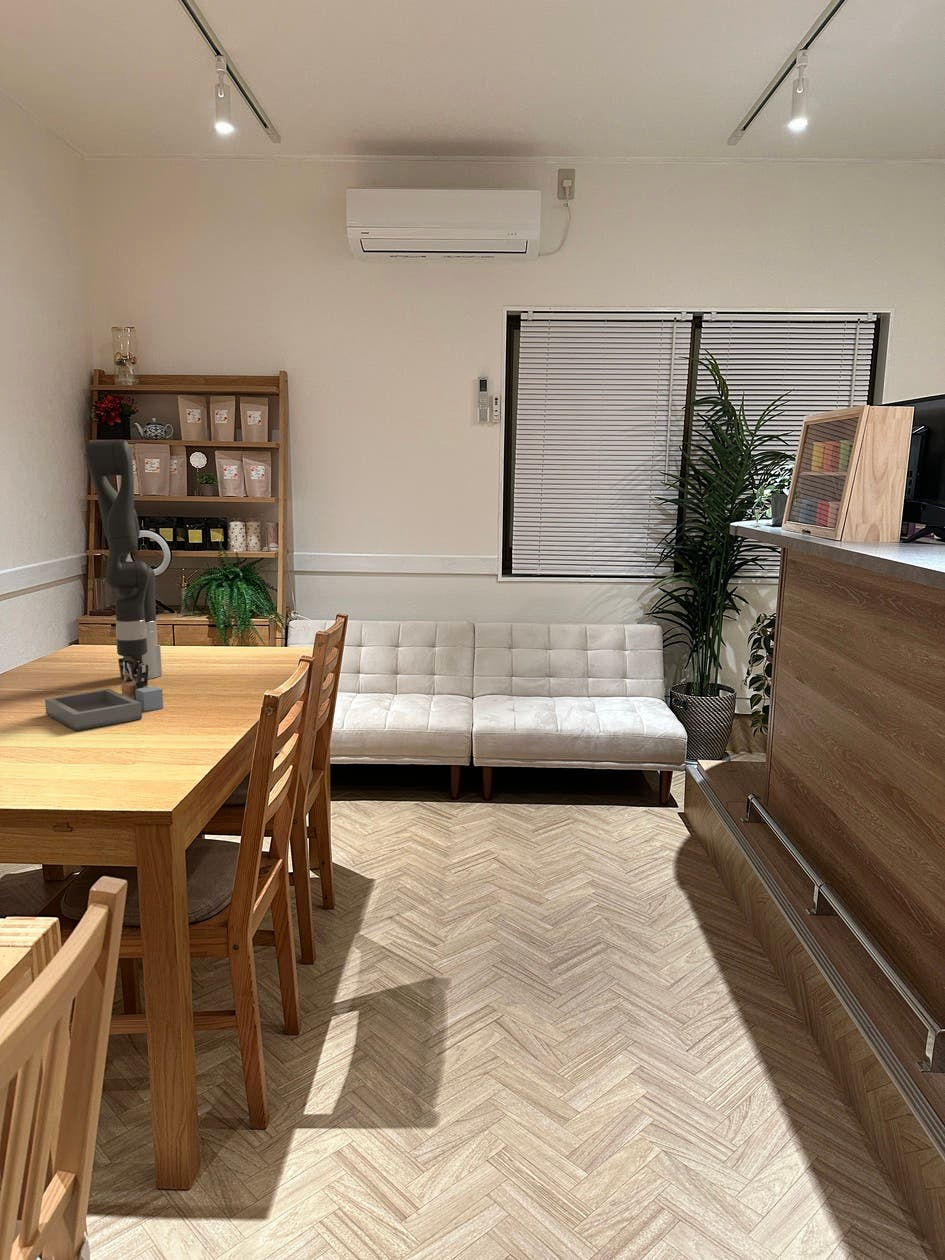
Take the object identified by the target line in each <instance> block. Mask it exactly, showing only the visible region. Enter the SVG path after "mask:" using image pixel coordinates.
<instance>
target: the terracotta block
mask: <svg viewBox="0 0 945 1260" xmlns="http://www.w3.org/2000/svg"><path fill="white" fill-rule="evenodd" d="M148 684H149V683H148ZM148 684H147V685H145V686H144V687H143V688H145V687H149V686H148ZM120 687H121V694H122V695H124V696H127V697H129V698H131V699H133V700H135V691H134V688H135V687H134V683H133V681H129V682H124V681H123V682H121V686H120Z"/></svg>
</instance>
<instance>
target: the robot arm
mask: <svg viewBox="0 0 945 1260" xmlns="http://www.w3.org/2000/svg"><path fill="white" fill-rule="evenodd" d="M84 451H85V452H84V453H85V459H86V464H87V466H88V471H89V473H90V477H91V480H92V483H93V487H94V490H95V493H96V497H97V501H98V502H97V503H98V507H99V511H100V517H101V521H102V522H101V523H102V525H103V526H102V527H103V531H104V533H105V538H106V542H107V546H108V550H109V551H108V561H107V567H106V573H105V580H106V582H107V584H108V586H110V588H112V589H114V590H116V592H117V595H118V596H120V597H119V598H118V599H116V600H115V607H114V608H115V618H116V619H115V621H116V622H115V636H116V637H115V639H116V653H117V655H118V656H121V657H120V658H118V659H117V660H118V668H119V673H120V679H121V681H123V682H129V681H133V683H134V687H135V688H134V691H135V689H139V688H143V687H144V686H145V685H147V684H149V683H148V681H149V680H151V679H154V678H157V677H162V676H163V670H162V651H161V645H160V644H158V632H157V629H158V627H157V609H156V608H157V606H156V605H157V604H156V588H157V587H156V582H157V581H156V574H155V571H154V569H153V568H152V567H149V566H148V564H147V563H146V562H144V561H142V560H131V561H130V560H129V561H127V559H128V556H129V554H131V553H134V552H136V551H138V549H139V542H138V540H139V538H140V534H141V530H140V523H139V519H138V514H137V511H136V509H135V483H134V482H135V481H134V464H133V463H134V462H133V455H132V451H131V447H130V444H129V443H128V441H126V440H125V439H109V440H108V439H107V440H96V441H94V440H93V441H89V442H87V443H86V445H85V450H84ZM114 476H120V477H121V478H120V479H121V480H120V486H119V487H120V488H119V490H118V492H117V491H116V490H115V489H114V487H112V485H111V484H110V482H109V480H108V478H107V477H114ZM135 700H136V694H135Z"/></svg>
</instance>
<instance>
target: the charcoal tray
mask: <svg viewBox="0 0 945 1260" xmlns="http://www.w3.org/2000/svg"><path fill="white" fill-rule="evenodd" d="M44 702H45V703H44V705H45V715H47V716H48V717H51V718H52V719H54V720H56V721H57V722H59V723H61V724H62V725H64V726H66V727H68V728H69V729H72V730H73V731H75V732H77V731H83V730H88V729H95V728H99V727H104V726H109V725H116V724H119V723H125V722H130V721H136V720H141V719H143V714H142V712H143V710H142V708H141V703H140V702H138V701H136V700H133V699H131V698H129V697H127V696H124V695H122V693H120V692H117V691H115V690H113V689H111V688H104V689H99V690H91V691H85V692H79V693H73V694H67V695H66V694H65V695H60V696H55V697H54V696H53V697H47V698H44Z"/></svg>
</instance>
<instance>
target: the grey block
mask: <svg viewBox="0 0 945 1260" xmlns="http://www.w3.org/2000/svg"><path fill="white" fill-rule="evenodd" d="M135 694H136V701H138V702H140V703H141V708H142V712H148V711H149V712H150V711H153V710H154V711H155V710H158V709H159V710H160V709H163V708H164V698H163V697H164V695H163V694H164V693H163V689H162V688H159V687H157V686H154V685H151V686H148V687H145V688H139V689H135Z"/></svg>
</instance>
